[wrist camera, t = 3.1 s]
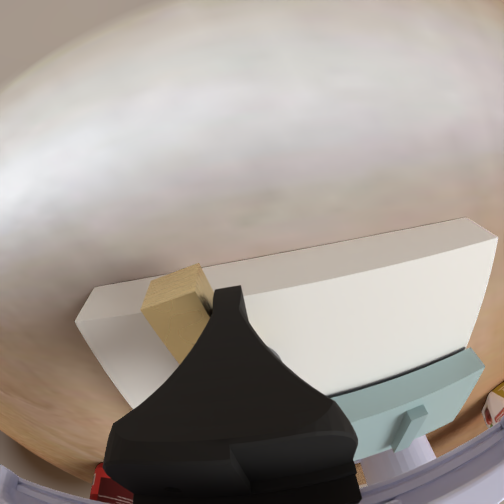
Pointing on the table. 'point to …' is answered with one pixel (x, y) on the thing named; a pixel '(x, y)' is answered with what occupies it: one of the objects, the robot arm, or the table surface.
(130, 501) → the canned food
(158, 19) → the table surface
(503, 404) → the juice carton
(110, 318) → the box
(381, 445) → the cover
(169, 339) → the lever handle
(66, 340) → the table surface
